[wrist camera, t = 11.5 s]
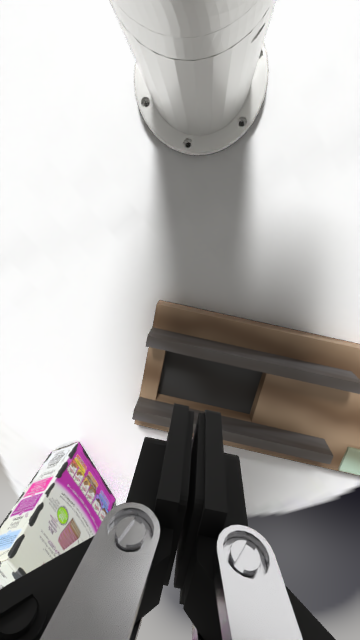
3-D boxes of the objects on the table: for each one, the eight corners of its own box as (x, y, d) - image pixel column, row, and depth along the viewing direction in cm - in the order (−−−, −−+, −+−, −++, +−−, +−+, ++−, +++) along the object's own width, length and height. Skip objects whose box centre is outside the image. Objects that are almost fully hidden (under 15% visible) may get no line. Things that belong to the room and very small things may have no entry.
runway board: (159, 299, 37) (152, 310, 32) (482, 370, 36) (523, 392, 31) (137, 414, 42) (128, 439, 37) (422, 480, 41) (451, 513, 36)
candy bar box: (49, 450, 45) (-36, 571, 29) (79, 439, 44) (7, 558, 28) (88, 509, 47) (28, 649, 32) (117, 500, 46) (70, 640, 31)
